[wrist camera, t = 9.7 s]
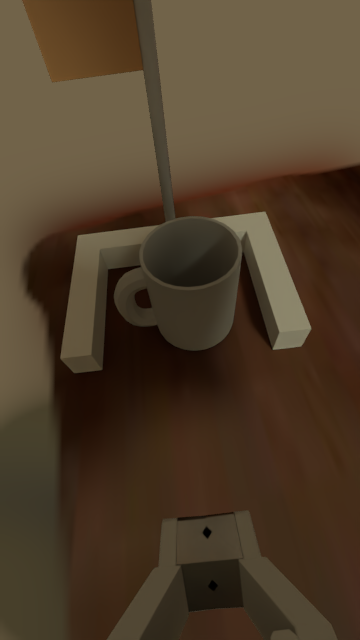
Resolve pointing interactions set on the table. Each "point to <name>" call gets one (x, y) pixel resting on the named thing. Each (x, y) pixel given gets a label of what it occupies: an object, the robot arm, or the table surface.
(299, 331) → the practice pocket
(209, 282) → the cup
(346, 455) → the table surface
